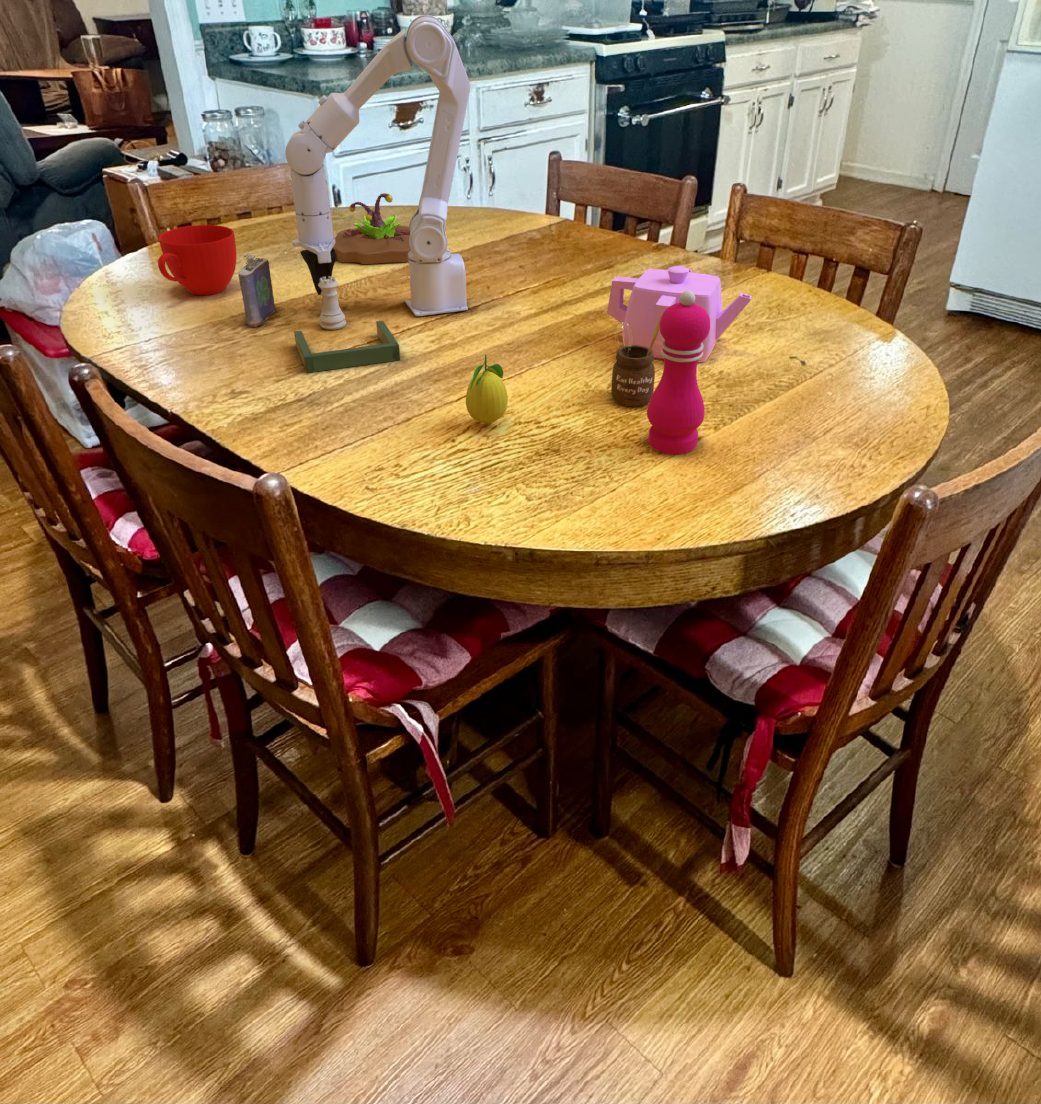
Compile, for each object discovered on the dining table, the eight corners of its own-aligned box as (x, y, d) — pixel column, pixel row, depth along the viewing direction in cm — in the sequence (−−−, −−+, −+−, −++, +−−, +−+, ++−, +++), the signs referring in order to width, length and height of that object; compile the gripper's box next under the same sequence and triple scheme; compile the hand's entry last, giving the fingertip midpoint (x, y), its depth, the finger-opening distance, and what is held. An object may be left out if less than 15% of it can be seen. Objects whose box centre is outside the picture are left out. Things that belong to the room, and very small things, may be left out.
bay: (384, 334, 148) (383, 320, 146) (400, 360, 139) (399, 344, 138) (296, 346, 144) (293, 331, 142) (306, 373, 135) (304, 357, 134)
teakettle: (598, 336, 147) (602, 260, 140) (685, 320, 153) (693, 246, 146) (655, 374, 134) (663, 293, 127) (747, 355, 140) (759, 276, 133)
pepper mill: (639, 431, 119) (651, 281, 108) (693, 429, 119) (710, 280, 108) (650, 458, 113) (664, 302, 102) (706, 455, 114) (727, 300, 102)
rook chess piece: (351, 322, 152) (346, 275, 148) (338, 331, 149) (332, 284, 144) (328, 319, 153) (322, 272, 149) (314, 328, 150) (308, 281, 145)
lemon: (471, 439, 117) (469, 367, 112) (456, 421, 122) (453, 351, 116) (518, 430, 119) (518, 359, 114) (501, 412, 124) (501, 343, 118)
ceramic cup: (140, 303, 160) (126, 246, 155) (201, 275, 173) (190, 221, 168) (199, 312, 156) (187, 254, 151) (257, 283, 169) (248, 228, 164)
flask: (258, 327, 150) (247, 263, 144) (242, 327, 151) (230, 262, 145) (279, 309, 158) (268, 247, 152) (263, 308, 158) (252, 246, 152)
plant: (423, 264, 178) (419, 206, 172) (325, 264, 179) (317, 206, 172) (432, 236, 195) (429, 182, 188) (343, 236, 195) (336, 181, 189)
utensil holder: (609, 389, 130) (614, 308, 123) (653, 390, 130) (660, 309, 123) (611, 407, 125) (616, 324, 118) (656, 407, 125) (664, 324, 118)
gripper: (282, 203, 152) (294, 282, 159) (294, 224, 140) (306, 309, 148) (324, 199, 154) (333, 278, 161) (339, 220, 142) (348, 304, 150)
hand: (323, 293), depth 155 cm, fingers closed
